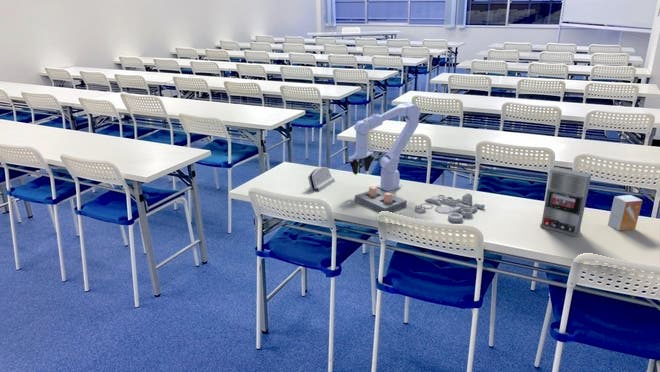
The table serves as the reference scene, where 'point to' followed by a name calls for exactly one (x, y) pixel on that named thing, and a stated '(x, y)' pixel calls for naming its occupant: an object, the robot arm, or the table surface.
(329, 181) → the hinge
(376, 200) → the housing
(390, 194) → the fitted pink peg
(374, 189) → the pink rounded capsule
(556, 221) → the cassette tape recorder
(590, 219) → the table surface
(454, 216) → the robot parts
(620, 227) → the small box
